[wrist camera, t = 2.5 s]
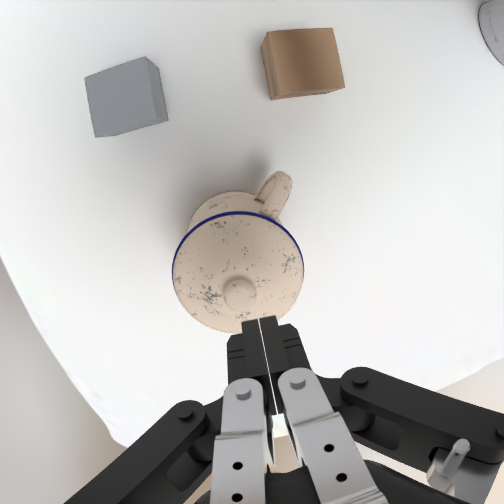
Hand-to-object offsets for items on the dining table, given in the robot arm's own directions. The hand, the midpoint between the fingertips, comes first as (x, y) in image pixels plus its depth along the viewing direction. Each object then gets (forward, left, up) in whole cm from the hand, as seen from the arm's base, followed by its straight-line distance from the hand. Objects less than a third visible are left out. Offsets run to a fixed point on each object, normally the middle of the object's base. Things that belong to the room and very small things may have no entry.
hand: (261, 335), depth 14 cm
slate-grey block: (+7, -13, -17) cm, 23 cm away
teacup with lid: (0, 0, -17) cm, 17 cm away
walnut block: (-7, -13, -17) cm, 23 cm away
